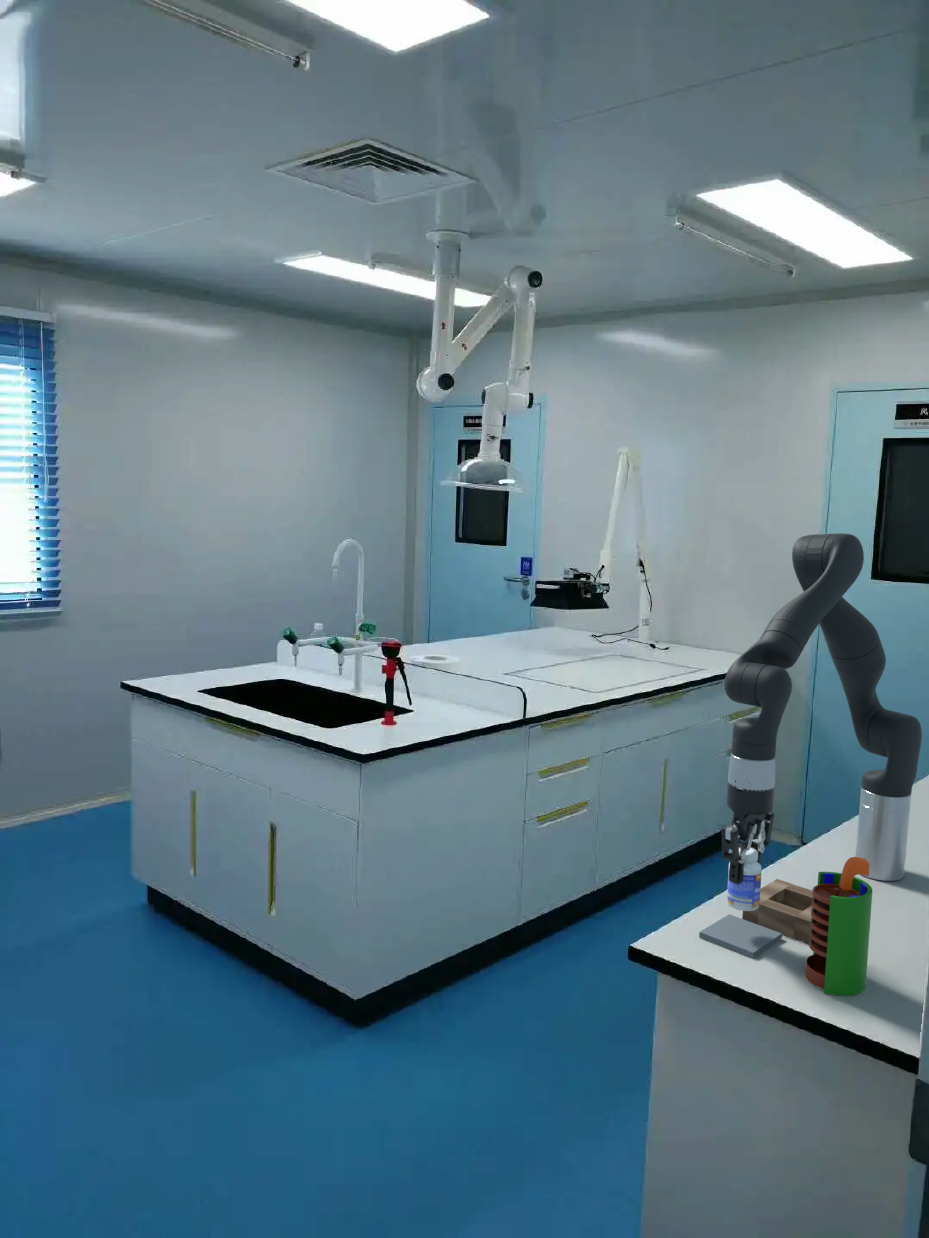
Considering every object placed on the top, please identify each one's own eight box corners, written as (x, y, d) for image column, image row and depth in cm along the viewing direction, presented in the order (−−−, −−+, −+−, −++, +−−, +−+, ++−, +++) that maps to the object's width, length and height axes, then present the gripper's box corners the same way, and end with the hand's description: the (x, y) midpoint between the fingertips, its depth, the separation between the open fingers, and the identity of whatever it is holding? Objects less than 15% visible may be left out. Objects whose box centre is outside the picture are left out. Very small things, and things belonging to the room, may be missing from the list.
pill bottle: (760, 913, 161) (764, 857, 160) (727, 910, 162) (730, 854, 161) (757, 900, 166) (761, 846, 165) (725, 896, 167) (728, 843, 166)
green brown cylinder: (793, 963, 157) (802, 845, 154) (846, 962, 157) (856, 845, 154) (821, 996, 147) (831, 871, 144) (877, 995, 147) (889, 870, 144)
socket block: (775, 899, 181) (777, 878, 180) (841, 921, 172) (843, 900, 171) (742, 919, 172) (743, 898, 171) (810, 944, 163) (811, 922, 163)
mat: (728, 919, 172) (729, 914, 172) (781, 938, 165) (781, 933, 165) (699, 937, 165) (699, 931, 165) (752, 958, 158) (753, 952, 158)
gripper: (751, 767, 169) (745, 860, 171) (708, 784, 158) (702, 882, 161) (792, 777, 163) (785, 872, 166) (750, 795, 153) (743, 896, 156)
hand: (744, 877), depth 163 cm, fingers closed on pill bottle, 5 cm apart
